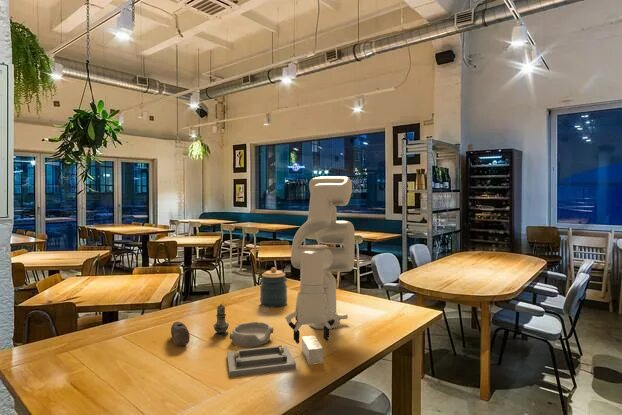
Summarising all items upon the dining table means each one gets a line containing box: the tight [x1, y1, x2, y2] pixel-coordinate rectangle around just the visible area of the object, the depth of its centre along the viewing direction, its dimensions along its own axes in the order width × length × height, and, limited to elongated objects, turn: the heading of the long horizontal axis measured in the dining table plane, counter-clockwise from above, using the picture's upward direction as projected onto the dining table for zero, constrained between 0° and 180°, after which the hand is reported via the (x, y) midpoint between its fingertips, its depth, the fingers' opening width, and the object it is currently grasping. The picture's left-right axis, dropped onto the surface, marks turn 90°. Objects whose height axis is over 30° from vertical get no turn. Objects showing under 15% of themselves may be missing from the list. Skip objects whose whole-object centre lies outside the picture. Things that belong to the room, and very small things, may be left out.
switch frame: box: [226, 345, 297, 377], centre depth 124 cm, size 20×14×4 cm
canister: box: [259, 267, 288, 308], centre depth 188 cm, size 13×13×18 cm
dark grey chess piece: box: [212, 303, 230, 338], centre depth 148 cm, size 6×6×12 cm
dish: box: [229, 321, 274, 348], centre depth 142 cm, size 14×14×5 cm
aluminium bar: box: [301, 335, 324, 365], centre depth 129 cm, size 4×11×5 cm, turn 13°
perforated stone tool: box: [170, 321, 190, 347], centre depth 142 cm, size 15×5×7 cm, turn 28°
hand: (311, 340), depth 128 cm, fingers open, 9 cm apart
